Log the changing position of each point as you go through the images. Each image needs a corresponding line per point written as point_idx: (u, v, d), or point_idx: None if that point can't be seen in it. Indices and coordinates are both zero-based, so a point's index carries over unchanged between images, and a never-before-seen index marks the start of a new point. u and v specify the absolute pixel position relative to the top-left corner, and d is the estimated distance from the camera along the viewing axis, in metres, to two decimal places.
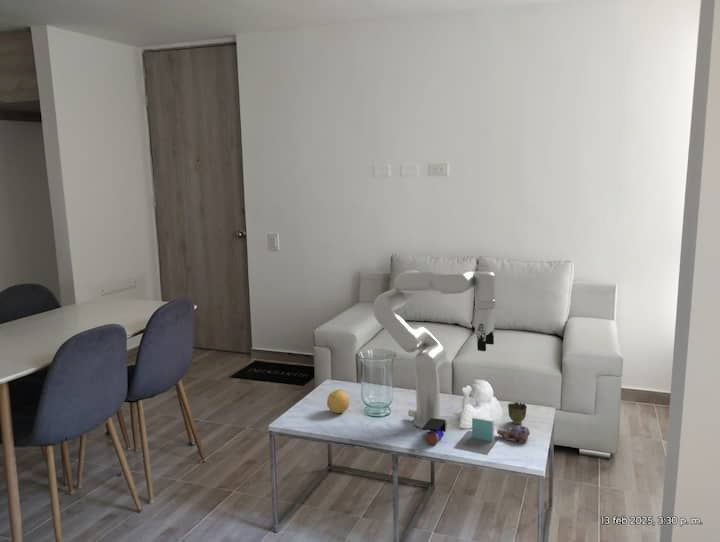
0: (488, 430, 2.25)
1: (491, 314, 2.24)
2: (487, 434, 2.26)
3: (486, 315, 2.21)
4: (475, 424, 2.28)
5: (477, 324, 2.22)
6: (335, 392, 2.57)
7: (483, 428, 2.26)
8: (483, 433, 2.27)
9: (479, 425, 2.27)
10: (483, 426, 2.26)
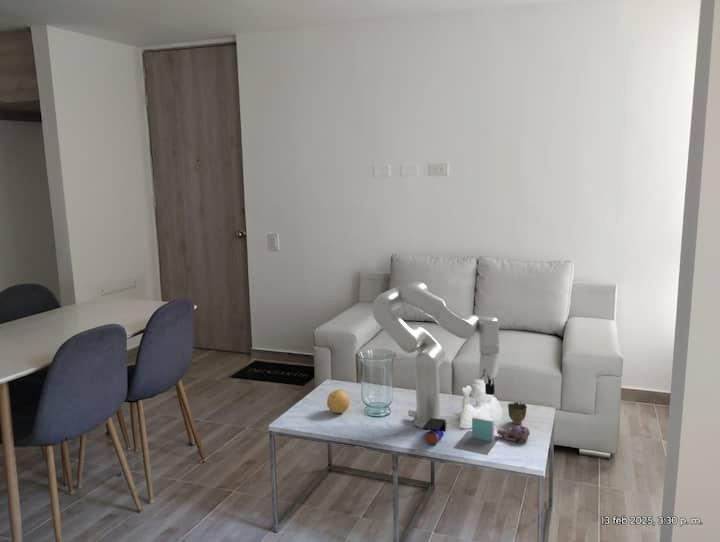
0: (488, 430, 2.25)
1: (495, 359, 2.28)
2: (487, 434, 2.26)
3: (490, 360, 2.25)
4: (475, 424, 2.28)
5: (481, 369, 2.26)
6: (335, 392, 2.57)
7: (483, 428, 2.26)
8: (483, 433, 2.27)
9: (479, 425, 2.27)
10: (483, 426, 2.26)
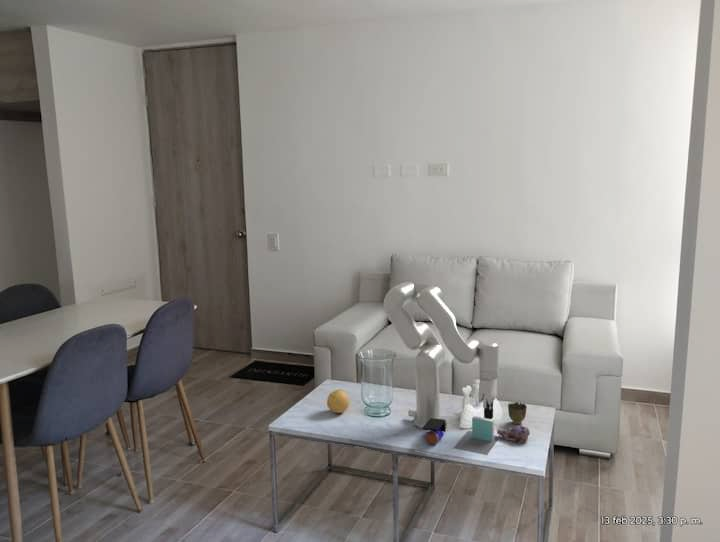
0: (488, 430, 2.25)
1: (494, 384, 2.29)
2: (487, 434, 2.26)
3: (489, 385, 2.26)
4: (475, 424, 2.28)
5: (480, 394, 2.28)
6: (335, 392, 2.57)
7: (483, 428, 2.26)
8: (483, 433, 2.27)
9: (479, 425, 2.27)
10: (483, 426, 2.26)
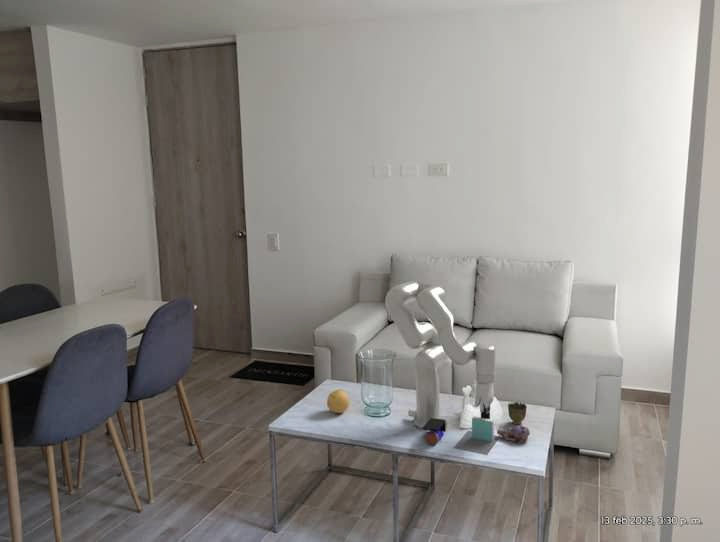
0: (488, 430, 2.25)
1: (491, 387, 2.26)
2: (487, 434, 2.26)
3: (486, 389, 2.23)
4: (475, 424, 2.28)
5: (477, 397, 2.24)
6: (335, 392, 2.57)
7: (483, 428, 2.26)
8: (483, 433, 2.27)
9: (479, 425, 2.27)
10: (483, 426, 2.26)
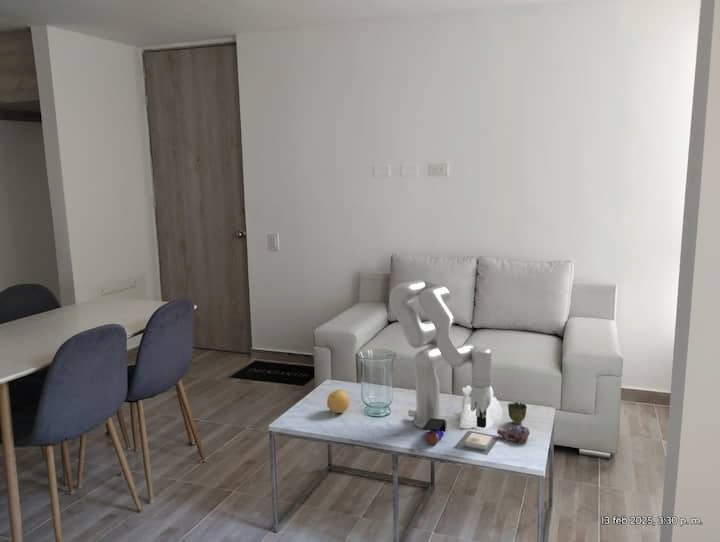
0: None
1: (487, 391, 2.22)
2: None
3: (482, 393, 2.19)
4: None
5: (473, 402, 2.20)
6: (335, 392, 2.57)
7: None
8: None
9: None
10: None
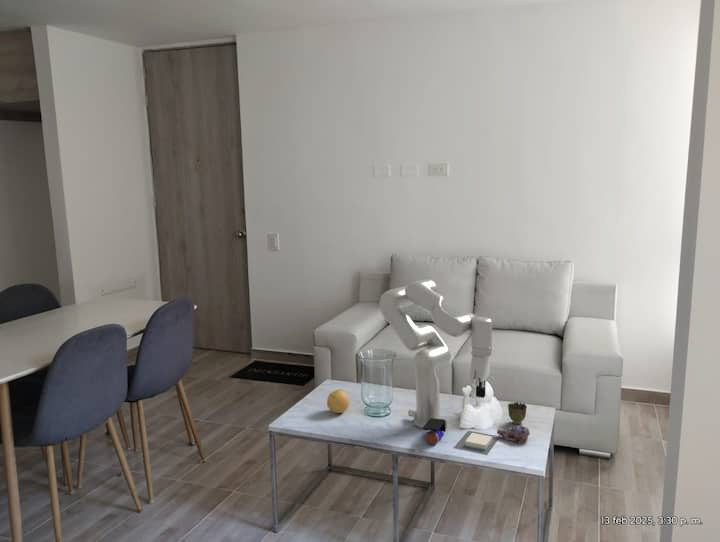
0: None
1: (487, 361, 2.20)
2: None
3: (482, 362, 2.17)
4: None
5: (472, 371, 2.18)
6: (335, 392, 2.57)
7: None
8: None
9: None
10: None
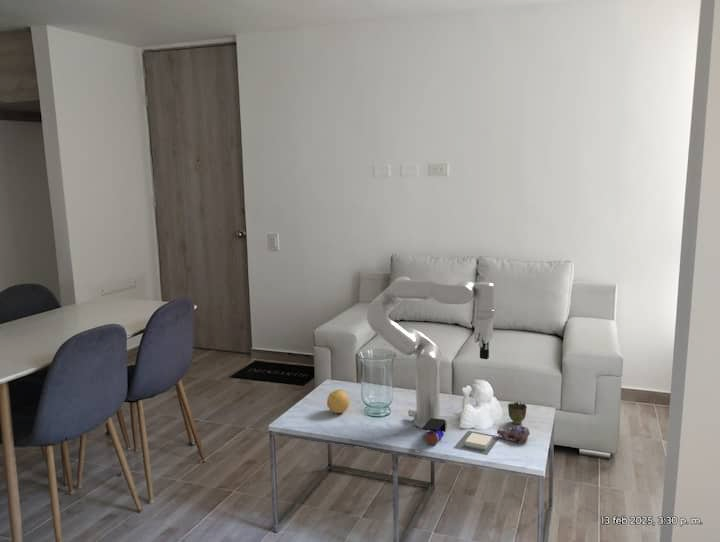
0: None
1: (490, 323, 2.31)
2: None
3: (485, 324, 2.28)
4: None
5: (476, 333, 2.29)
6: (335, 392, 2.57)
7: None
8: None
9: None
10: None
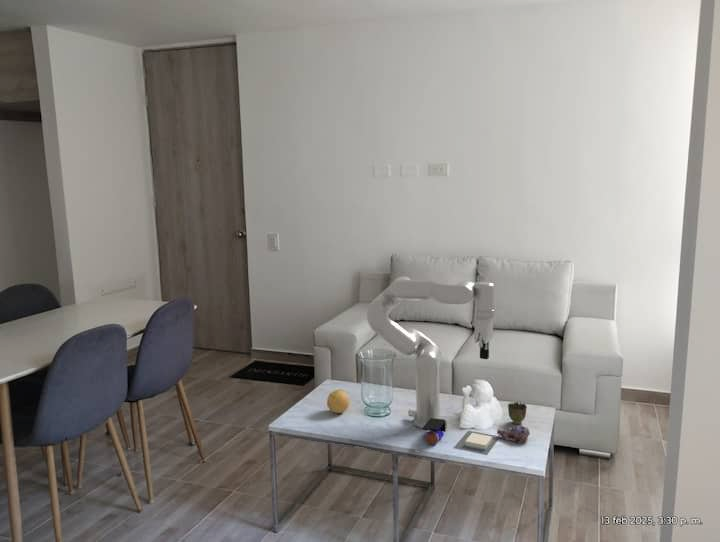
0: None
1: (490, 323, 2.31)
2: None
3: (485, 324, 2.28)
4: None
5: (476, 333, 2.29)
6: (335, 392, 2.57)
7: None
8: None
9: None
10: None
